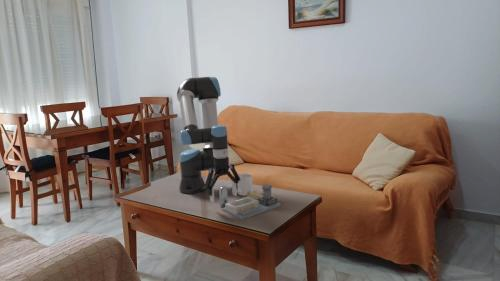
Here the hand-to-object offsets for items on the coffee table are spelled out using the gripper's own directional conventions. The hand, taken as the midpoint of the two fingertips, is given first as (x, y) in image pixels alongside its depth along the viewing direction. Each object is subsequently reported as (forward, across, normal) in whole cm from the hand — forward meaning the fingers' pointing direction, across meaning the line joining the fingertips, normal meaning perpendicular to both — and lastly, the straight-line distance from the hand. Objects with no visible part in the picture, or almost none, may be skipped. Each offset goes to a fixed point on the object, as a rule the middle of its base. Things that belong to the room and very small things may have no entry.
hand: (223, 198), depth 191 cm
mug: (+4, +18, +8) cm, 21 cm away
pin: (+4, 0, 0) cm, 4 cm away
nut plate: (+4, +8, -12) cm, 15 cm away
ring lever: (+3, +16, -9) cm, 19 cm away
